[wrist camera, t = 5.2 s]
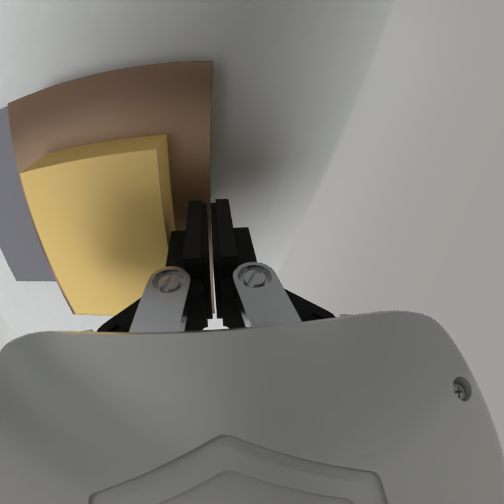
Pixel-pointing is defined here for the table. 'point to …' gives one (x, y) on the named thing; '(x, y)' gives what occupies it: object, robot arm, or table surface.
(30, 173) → the ochre tile
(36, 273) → the charcoal mat
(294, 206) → the table surface
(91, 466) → the robot arm
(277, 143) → the table surface
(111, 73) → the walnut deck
